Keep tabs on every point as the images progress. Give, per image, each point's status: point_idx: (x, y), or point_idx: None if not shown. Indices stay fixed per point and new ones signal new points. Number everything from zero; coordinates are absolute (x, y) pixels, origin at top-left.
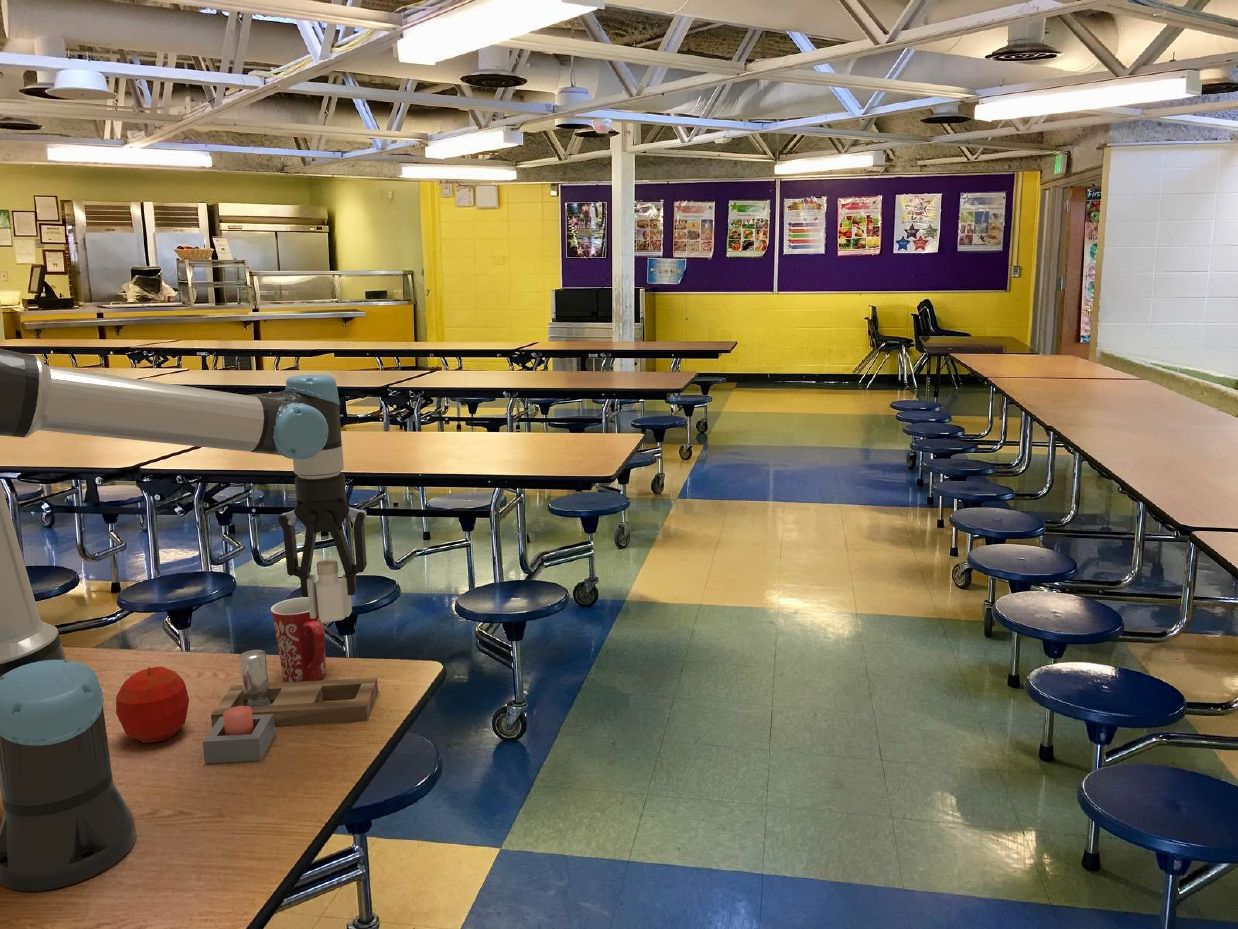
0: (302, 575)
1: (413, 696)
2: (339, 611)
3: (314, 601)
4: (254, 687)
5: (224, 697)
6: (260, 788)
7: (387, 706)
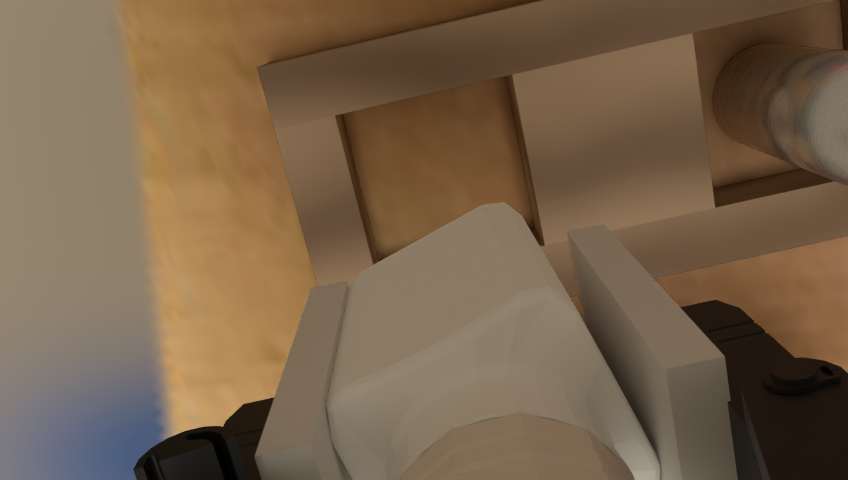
0: (800, 370)
1: (175, 295)
2: (371, 281)
3: (600, 302)
4: (810, 55)
5: None
6: None
7: (242, 198)
